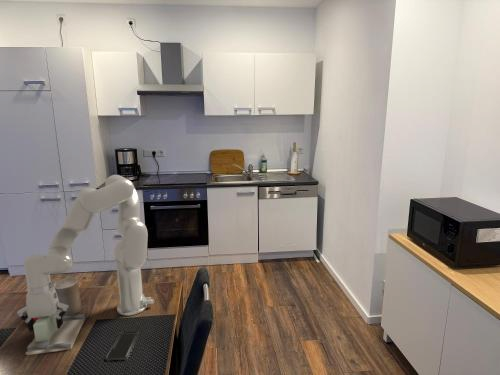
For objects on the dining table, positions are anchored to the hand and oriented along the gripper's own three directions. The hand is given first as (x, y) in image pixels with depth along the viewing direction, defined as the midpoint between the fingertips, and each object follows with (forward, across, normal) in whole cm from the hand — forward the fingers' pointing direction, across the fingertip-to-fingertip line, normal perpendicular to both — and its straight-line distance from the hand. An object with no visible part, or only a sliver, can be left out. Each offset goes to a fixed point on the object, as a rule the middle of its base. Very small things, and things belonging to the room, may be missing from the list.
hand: (46, 328), depth 129 cm
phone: (+4, -30, +12) cm, 32 cm away
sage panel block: (+3, 0, 0) cm, 3 cm away
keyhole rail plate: (+4, -4, 0) cm, 5 cm away
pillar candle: (+4, -3, -17) cm, 18 cm away
